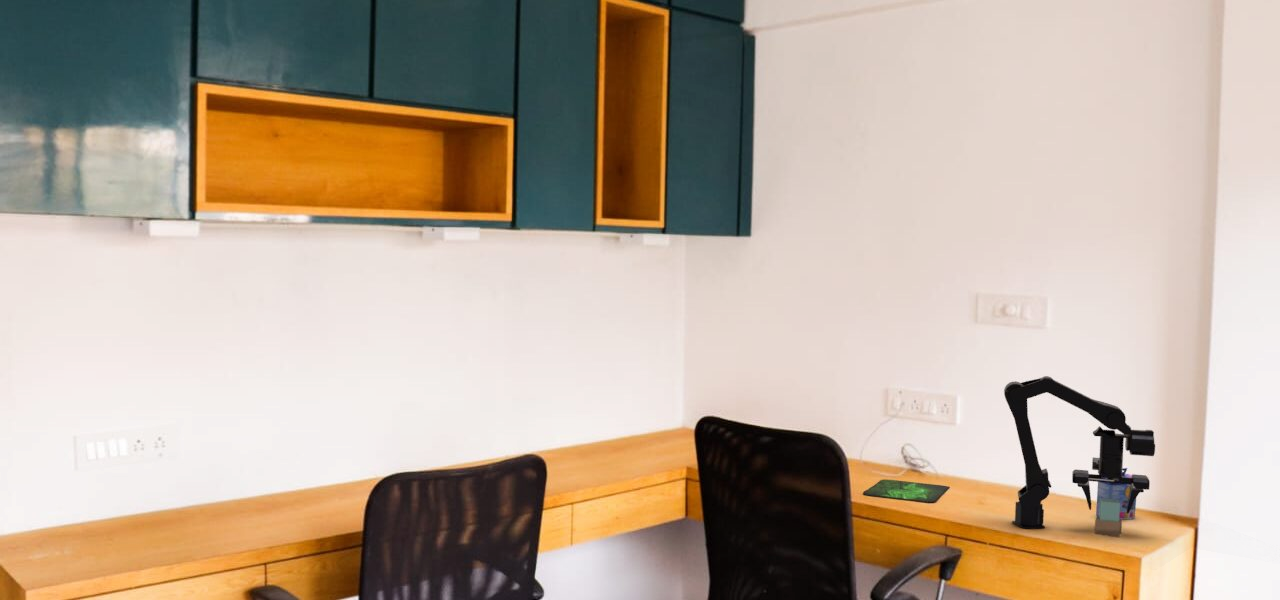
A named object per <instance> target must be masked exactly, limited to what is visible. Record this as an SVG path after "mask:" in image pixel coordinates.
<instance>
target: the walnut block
mask: <svg viewBox="0 0 1280 600" xmlns="http://www.w3.org/2000/svg"><path fill="white" fill-rule="evenodd" d="M1122 524H1123V520H1122V518H1119V522H1114V521H1104V520H1100V518H1099V515H1098V516H1096V517H1095V520H1094V534H1095V535H1099V534H1100V535H1099V536H1106V535H1107V537H1114V538H1115V537H1116V538H1120V536H1121V535H1122V530H1123V528H1122V527H1123V526H1122Z"/></svg>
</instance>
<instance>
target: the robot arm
mask: <svg viewBox="0 0 1280 600" xmlns="http://www.w3.org/2000/svg"><path fill="white" fill-rule="evenodd" d="M1042 394H1050V395H1052V396H1053V397H1056V398H1058V399H1060V400H1062V401H1064V402H1066V403H1067V404H1070V405H1072V406H1074V407H1076V408H1078V409H1080V410H1082V411H1084V412H1086V413H1087V414H1089V415H1090V416H1091V417H1092V418H1094V419H1095V420H1097V421H1098V422H1099V423H1100V424H1102V425H1103V426H1104V427H1106V428H1108V429H1103V428H1102V427H1101V426H1098V427H1097V428H1096V429H1095V430H1093V431H1092V434H1093V436H1094V437H1100V440H1099V457H1092V462H1091V463H1092V464H1091V465H1092V467H1091V469H1092V470H1093V471H1097V474H1092V473H1089V470H1084V469H1074V470H1073V471H1072V476H1071V477H1072V479H1071V481H1072V483H1073V484H1077V487H1079V488H1081V489H1082V491H1083V493H1084V496H1085V498H1086V502H1087V505H1088V509H1089V511H1091V510H1092V499H1091V498H1092V497H1091V487H1090V482H1097V483H1098V482H1107V483H1119V484H1130V492H1129V498H1128V504H1127V513H1129V511H1130V509H1131V507H1132V505H1133V503H1134V500H1135V499H1136V500H1137V498H1138V495H1139V494H1141V493H1144V490H1146V491H1147V490H1150V479H1149V477H1148V476H1147V475H1145V474H1144V475H1142V474H1135V473H1133V474H1131V475H1132V478H1131V477H1122V472H1123V470H1122V468H1123V466H1124V465H1123V464H1124V463H1123V462H1124V447H1125V451H1127V452H1128V451H1129V455H1131V456H1142V457H1143V456H1146V457H1154V456H1155V453H1156V444H1155V436H1154V433H1155V432H1154V430H1152V429H1145V430H1144V429H1132V427H1131V426H1130V425H1129V424H1127V423H1126V421H1127V419H1126V413H1124V412H1123V411H1122V409H1121V408H1120V407H1119V406H1116V405H1113V404H1111V403H1108V402H1104V401H1100V400H1098V399H1097V400H1096V399H1095V398H1094V399H1093V398H1091V397H1089V396H1087V395H1085V394H1083V393H1081V392H1079V391H1076V390H1075V389H1073V388H1071V387H1068V386H1067V385H1065V384H1062V383H1061V382H1060V381H1057V380H1054V379H1053V378H1052V377H1051V376H1049V375H1048V376H1047V375H1046V376H1045V375H1044V376H1042V377H1039V378H1037V379H1031V380H1026V381H1022V382H1019V381H1015V380H1014V381H1011V382H1008V383H1007V384H1006V385H1005V386H1004V389H1003V395H1004V398H1005V401H1006V403H1007V405H1008V407H1009V410H1010V412H1011V414H1012V416H1013V419H1014V423H1015V428H1016V431H1017V436H1018V441H1019V444H1020V448H1021V452H1022V454H1021V455H1022V457H1023V461H1024V470H1025V471H1024V472H1025V473H1024V474H1025V475H1024V477H1025V485H1024V486H1023V487H1022V488H1020V489H1019V490H1017V497H1018V501H1016V502H1015V509H1014V510H1015V511H1014V512H1015V513H1014V515H1015V516H1014V520H1012V521H1011V524H1014V525H1016V526H1017V527H1019V528H1022V529H1044V528H1046V526H1045V525H1044V515H1045V513H1044V511H1045V510H1044V508H1043V506H1044V505H1043V503H1042V501H1044V500H1046V499H1047V498H1048V496H1049V495H1050V488H1052V485H1051V482H1050V480H1049V472H1048V469H1047V468H1044V469H1042V468H1041V465H1040V462H1039V459H1038V454H1037V451H1036V446H1035V440H1034V437H1033V433H1032V429H1031V423H1030V421H1029V416H1028V415H1029V414H1028V399H1031V398H1035V397H1037V396H1040V395H1042ZM1116 430H1117V431H1119V432H1120V433H1117V432H1116ZM1124 441H1125V442H1124ZM1124 443H1125V445H1124ZM1102 478H1106V479H1102ZM1113 479H1114V480H1113Z"/></svg>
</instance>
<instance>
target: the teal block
mask: <svg viewBox="0 0 1280 600" xmlns="http://www.w3.org/2000/svg"><path fill="white" fill-rule="evenodd" d="M1119 511H1120V502H1119V500H1118V499H1106V498H1100V505H1099V518H1100V520H1104V521H1114V522H1119Z"/></svg>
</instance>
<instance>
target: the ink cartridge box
mask: <svg viewBox="0 0 1280 600" xmlns="http://www.w3.org/2000/svg"><path fill="white" fill-rule="evenodd" d="M1127 471H1128V467H1126V468H1125V467H1124V468H1123V467H1122V477H1131V478H1132V474H1129V473H1126V472H1127ZM1102 479H1106V478H1102ZM1113 480H1114V479H1113ZM1129 492H1130V484H1119V483H1107V482H1097V493H1096V494H1097V496H1096V510H1095V516H1096V517H1097V516H1098V515H1099V505H1100V498H1106V499H1118V500H1119V502H1120V511H1119V518H1122V521H1124V520H1126V519H1127V520H1134V519H1136V507H1137V498H1136V499H1135V500H1134V503H1133V505H1132V507H1131V509H1130V511H1129V513H1127V504H1128V498H1129Z"/></svg>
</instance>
